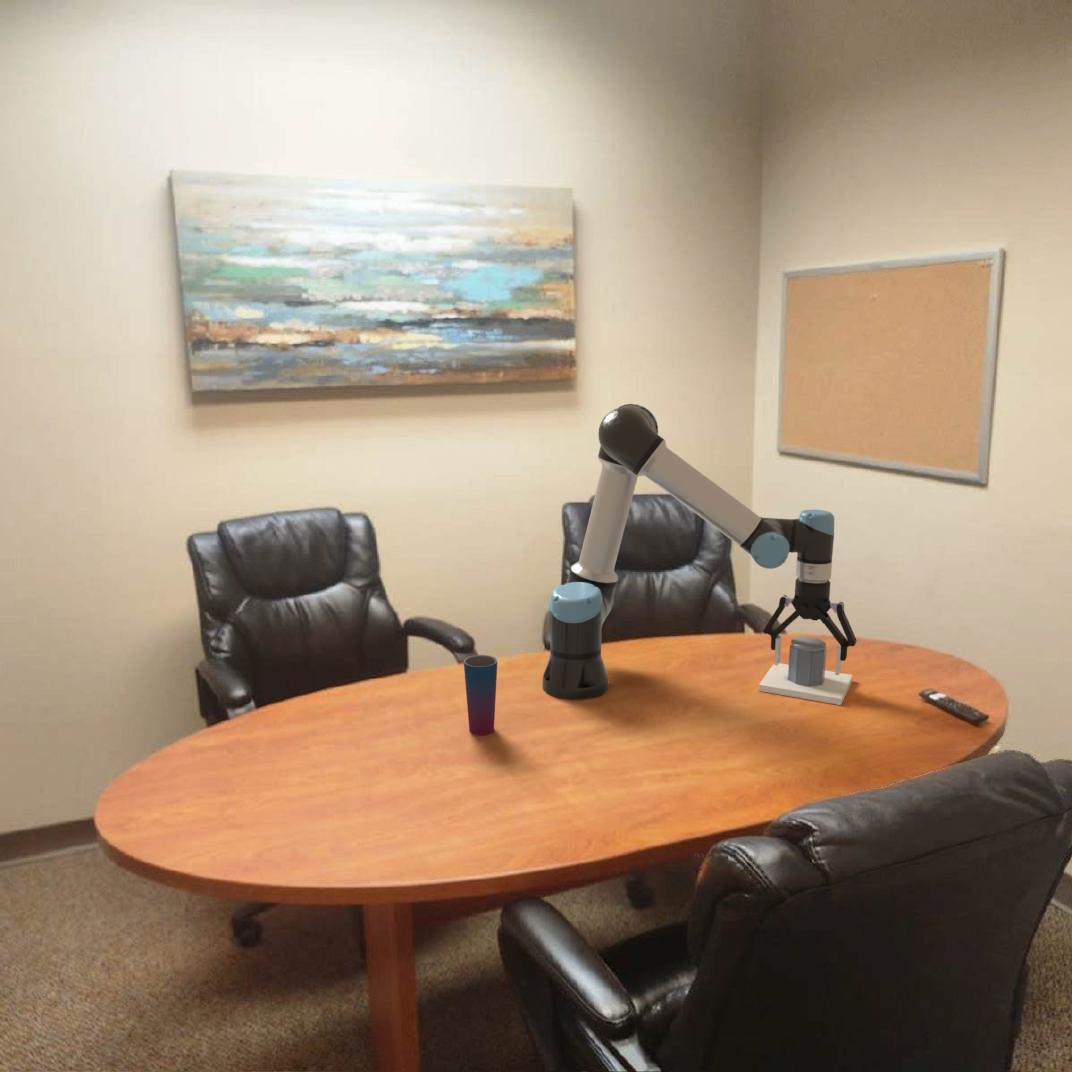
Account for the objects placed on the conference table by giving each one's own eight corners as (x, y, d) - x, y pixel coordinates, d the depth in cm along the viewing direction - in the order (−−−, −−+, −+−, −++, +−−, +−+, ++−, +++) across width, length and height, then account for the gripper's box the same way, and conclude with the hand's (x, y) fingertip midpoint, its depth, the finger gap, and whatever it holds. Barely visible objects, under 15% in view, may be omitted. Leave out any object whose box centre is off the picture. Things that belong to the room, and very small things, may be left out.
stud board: (758, 690, 201) (760, 659, 199) (774, 668, 215) (776, 639, 213) (841, 705, 193) (843, 672, 191) (852, 680, 207) (854, 650, 205)
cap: (785, 682, 202) (788, 644, 200) (792, 671, 208) (794, 635, 207) (820, 688, 198) (822, 650, 197) (825, 676, 205) (828, 640, 203)
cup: (458, 733, 179) (457, 663, 176) (476, 720, 185) (475, 652, 182) (487, 739, 176) (486, 668, 173) (504, 727, 182) (503, 658, 179)
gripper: (753, 576, 201) (748, 664, 205) (869, 589, 189) (862, 683, 194) (761, 569, 207) (756, 654, 212) (874, 581, 196) (866, 672, 201)
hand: (807, 668), depth 203 cm, fingers open, 13 cm apart
